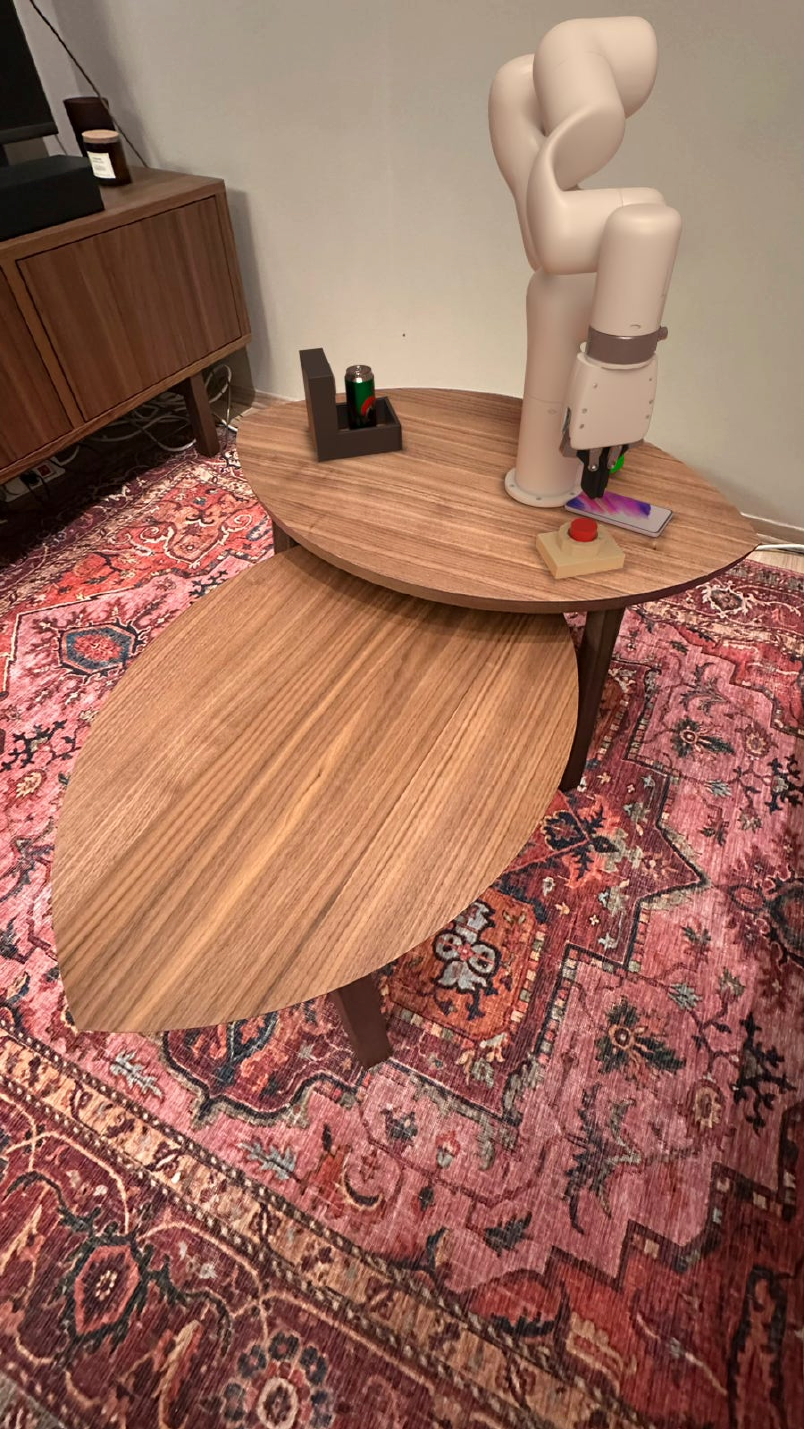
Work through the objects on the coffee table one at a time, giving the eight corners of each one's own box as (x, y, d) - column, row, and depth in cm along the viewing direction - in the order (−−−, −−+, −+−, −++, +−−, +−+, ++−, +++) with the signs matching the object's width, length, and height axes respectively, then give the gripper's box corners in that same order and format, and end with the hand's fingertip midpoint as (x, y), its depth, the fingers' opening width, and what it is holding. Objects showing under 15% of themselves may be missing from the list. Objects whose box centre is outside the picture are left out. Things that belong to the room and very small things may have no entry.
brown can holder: (388, 420, 127) (384, 340, 117) (402, 450, 120) (399, 366, 109) (309, 431, 125) (298, 350, 115) (318, 461, 118) (308, 378, 107)
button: (589, 526, 96) (591, 515, 95) (599, 541, 94) (602, 530, 93) (565, 530, 96) (566, 519, 95) (575, 545, 94) (577, 534, 92)
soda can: (379, 432, 124) (375, 363, 115) (375, 446, 121) (371, 376, 112) (351, 432, 125) (345, 363, 116) (347, 445, 121) (341, 376, 112)
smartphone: (658, 534, 99) (563, 505, 105) (656, 539, 100) (562, 510, 106) (675, 510, 103) (583, 483, 109) (674, 515, 104) (582, 488, 109)
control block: (599, 536, 101) (604, 512, 98) (622, 568, 96) (629, 543, 93) (534, 546, 100) (538, 522, 97) (555, 579, 94) (559, 555, 91)
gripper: (666, 324, 80) (632, 472, 93) (544, 339, 78) (527, 487, 91) (699, 347, 75) (658, 500, 88) (570, 363, 73) (548, 517, 86)
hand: (592, 493), depth 90 cm, fingers closed
